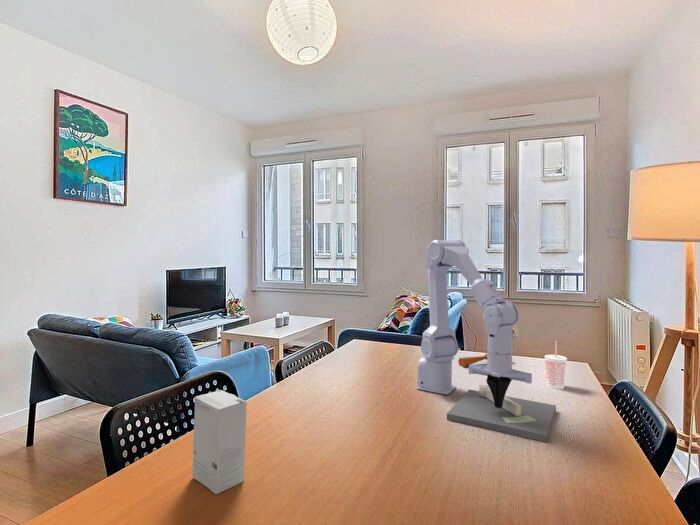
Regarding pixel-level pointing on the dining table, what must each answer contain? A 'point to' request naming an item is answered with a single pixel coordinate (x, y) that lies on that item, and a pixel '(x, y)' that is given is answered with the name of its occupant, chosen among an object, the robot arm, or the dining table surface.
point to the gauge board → (504, 416)
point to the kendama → (470, 360)
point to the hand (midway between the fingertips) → (498, 406)
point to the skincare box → (219, 440)
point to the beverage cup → (555, 370)
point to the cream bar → (507, 403)
